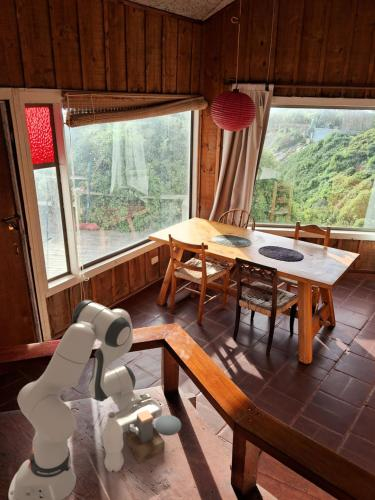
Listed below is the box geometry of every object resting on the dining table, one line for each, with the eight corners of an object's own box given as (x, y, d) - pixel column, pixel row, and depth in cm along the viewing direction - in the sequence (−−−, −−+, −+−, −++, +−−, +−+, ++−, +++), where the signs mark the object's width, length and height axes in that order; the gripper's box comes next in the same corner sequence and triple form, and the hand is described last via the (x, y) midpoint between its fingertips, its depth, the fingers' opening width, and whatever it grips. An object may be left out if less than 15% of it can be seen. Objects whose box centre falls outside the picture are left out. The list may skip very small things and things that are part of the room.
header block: (138, 465, 153) (138, 453, 151) (126, 444, 162) (126, 433, 160) (164, 452, 159) (164, 441, 157) (151, 433, 168) (151, 422, 165)
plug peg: (142, 453, 157) (142, 421, 151) (137, 445, 161) (136, 413, 155) (152, 448, 160) (152, 416, 154) (147, 440, 163) (147, 409, 157)
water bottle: (103, 475, 149) (100, 422, 140) (106, 458, 156) (103, 407, 146) (122, 475, 149) (121, 422, 140) (125, 458, 156) (123, 407, 147)
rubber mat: (154, 437, 166) (154, 435, 165) (155, 417, 176) (155, 415, 176) (181, 437, 166) (181, 435, 166) (180, 416, 176) (180, 415, 176)
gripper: (106, 410, 160) (120, 434, 149) (152, 392, 171) (168, 413, 160) (106, 422, 163) (121, 447, 152) (152, 404, 173) (168, 425, 162)
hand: (145, 429), depth 156 cm, fingers closed on plug peg, 4 cm apart
